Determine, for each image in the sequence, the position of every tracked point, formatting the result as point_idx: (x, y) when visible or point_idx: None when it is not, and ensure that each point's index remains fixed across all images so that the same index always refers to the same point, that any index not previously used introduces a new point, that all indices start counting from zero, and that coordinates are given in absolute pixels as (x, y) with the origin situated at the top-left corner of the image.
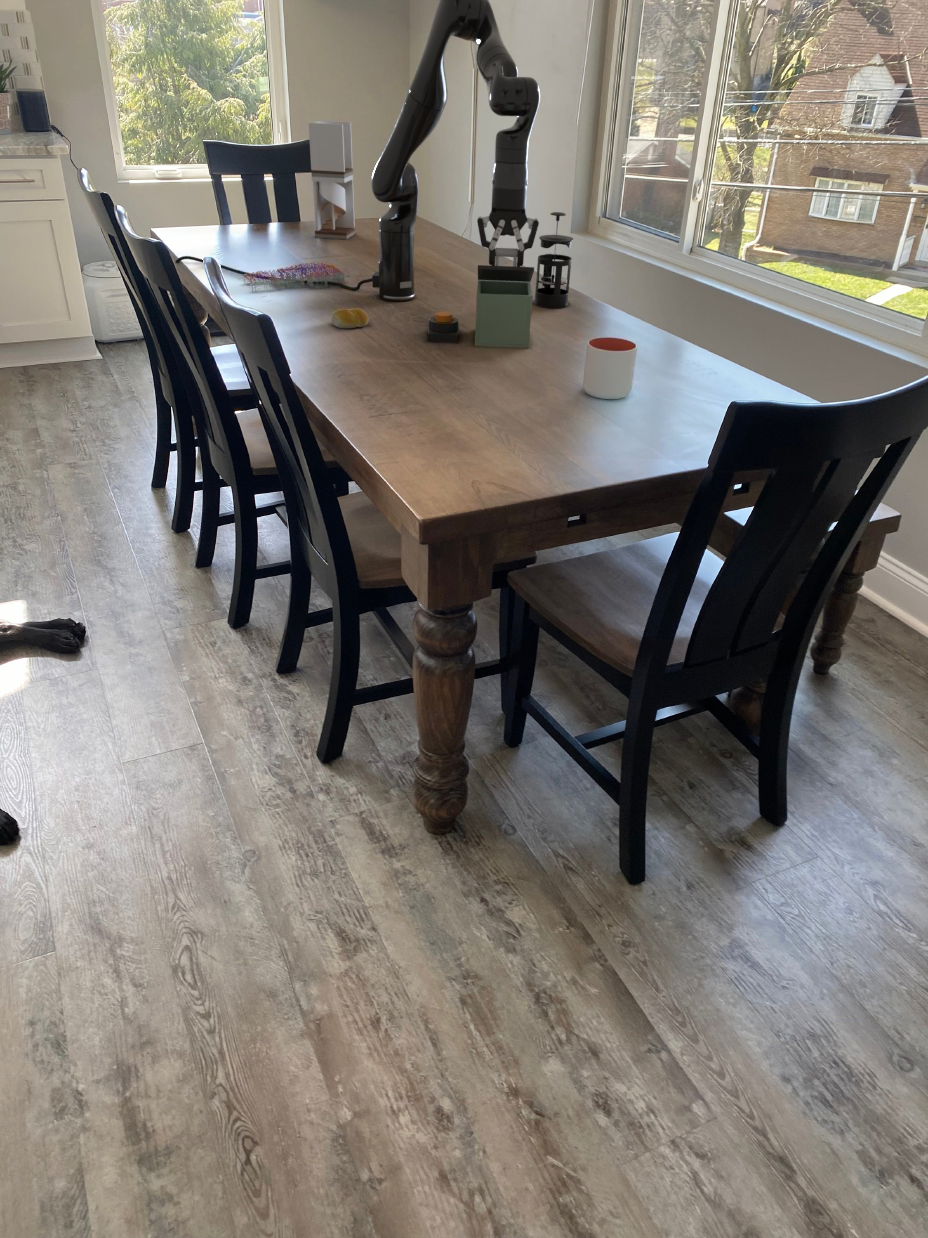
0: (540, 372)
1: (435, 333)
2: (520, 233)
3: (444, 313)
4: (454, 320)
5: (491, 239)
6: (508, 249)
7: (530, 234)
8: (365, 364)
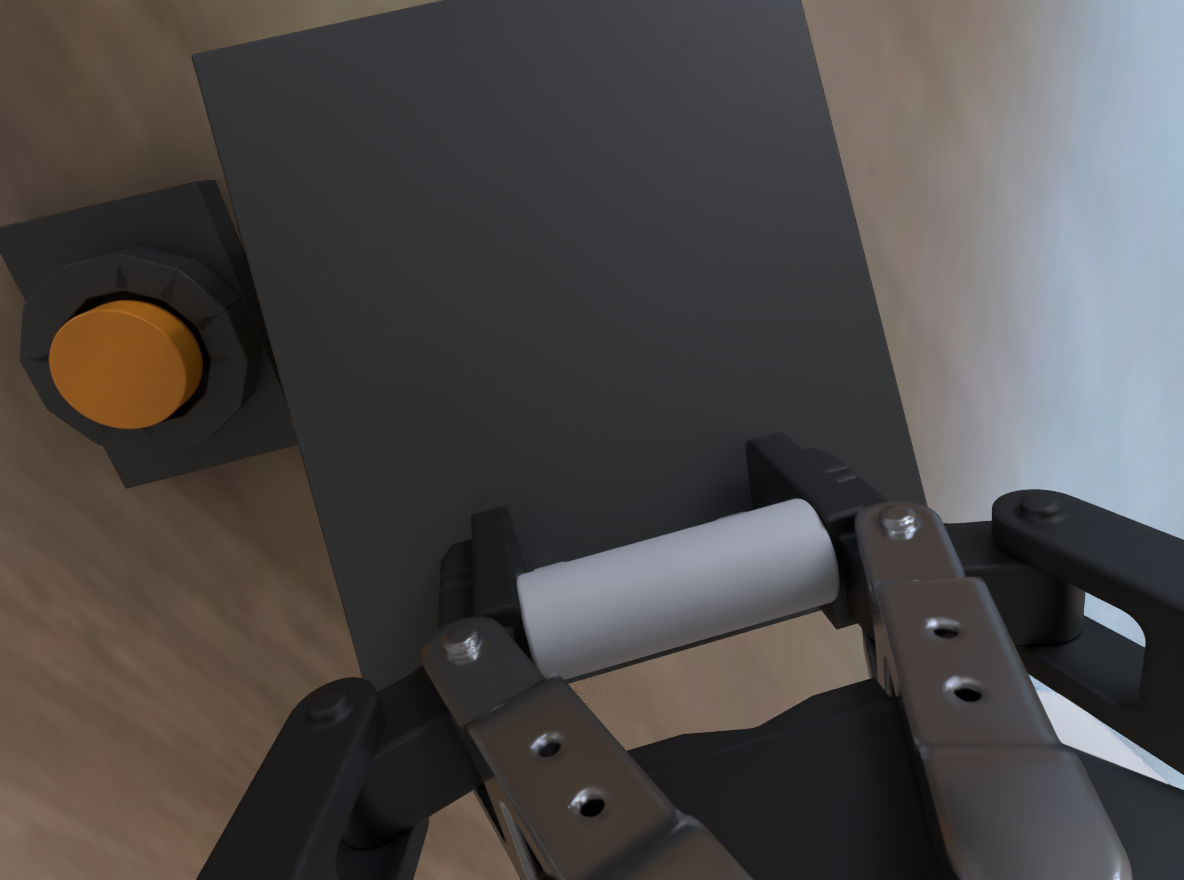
0: (783, 655)
1: (170, 470)
2: (991, 610)
3: (121, 365)
4: (217, 350)
5: (456, 723)
6: (715, 632)
7: (1162, 753)
8: (67, 856)
